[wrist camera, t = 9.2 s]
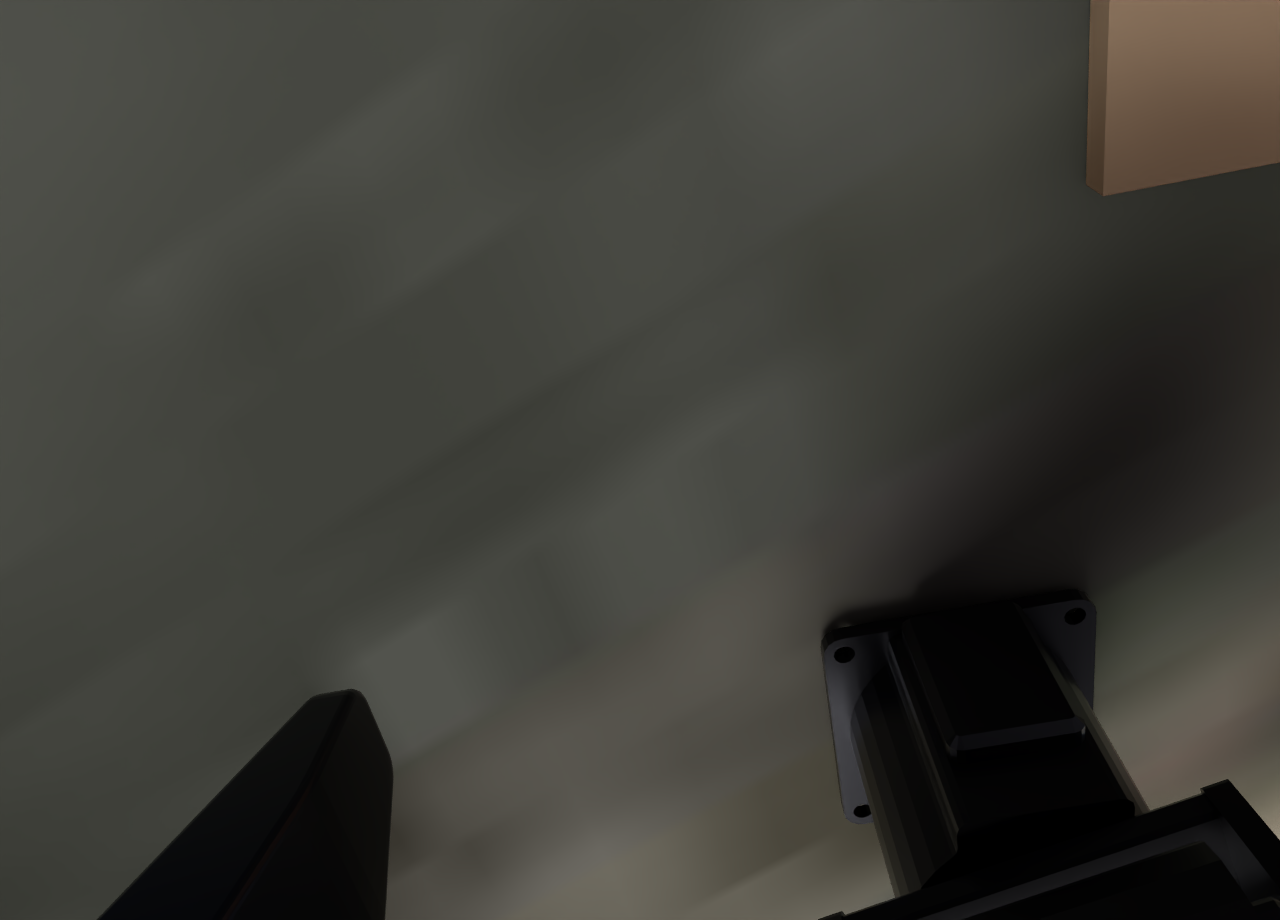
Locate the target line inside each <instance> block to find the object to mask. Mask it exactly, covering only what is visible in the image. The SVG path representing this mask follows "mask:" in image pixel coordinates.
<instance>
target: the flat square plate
mask: <svg viewBox="0 0 1280 920" xmlns="http://www.w3.org/2000/svg"><path fill="white" fill-rule="evenodd" d="M1279 162H1280V0H1090V40H1089V81H1088V122H1087V163H1086V185H1087V186H1089V187H1090V188H1092V189H1093V190H1095V191H1096V192H1098V193H1099V194H1101V195H1102V196H1107V195H1112V194H1117V193H1123V192H1128V191H1133V190H1138V189H1143V188H1149V187H1154V186H1159V185H1164V184H1169V183H1175V182H1180V181H1185V180H1190V179H1195V178H1201V177H1206V176H1211V175H1216V174H1221V173H1227V172H1232V171H1237V170H1242V169H1247V168H1253V167H1258V166H1263V165H1268V164H1273V163H1279Z"/></svg>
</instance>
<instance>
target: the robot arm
mask: <svg viewBox="0 0 1280 920" xmlns="http://www.w3.org/2000/svg"><path fill="white" fill-rule="evenodd" d="M1073 608H1078V609H1077V610H1076V611H1075V612H1073V613H1070V614H1066V613H1067V612H1068V611H1069V610H1071V609H1073ZM1095 639H1096V609H1095V606H1094V604H1093V603H1092V601H1091V600H1090V598H1089V597H1088V596H1087V595H1086V594H1085V592H1083V591H1080V590H1077V589H1069V590H1063V591H1057V592H1051V593H1045V594H1039V595H1033V596H1027V597H1022V598H1016V599H1010V600H1004V601H998V602H992V603H986V604H980V605H974V606H968V607H962V608H956V609H950V610H945V611H939V612H933V613H927V614H921V615H915V616H909V617H903V618H897V619H891V620H885V621H879V622H874V623H868V624H862V625H856V626H850V627H844V628H839V629H836V630H832V631H831V632H829V633H828V634H826V635H825V637H824V638H823V640H822V641H821V653H822V661H823V668H824V676H825V683H826V691H827V698H828V706H829V713H830V721H831V728H832V736H833V743H834V751H835V758H836V766H837V773H838V781H839V788H840V796H841V803H842V807H843V811H844V814H845V817H846V819H848V820H849V821H850V822H852V823H856V824H866V823H872V822H874V825H875V828H876V832H877V835H878V839H879V842H880V846H881V849H882V853H883V856H884V860H885V863H886V867H887V871H888V874H889V878H890V881H891V885H892V888H893V892H894V895H895V898H893V899H890V900H888V901H885V902H882V903H879V904H876V905H873V906H870V907H867V908H864V909H861V910H858V911H855V912H852V913H849V914H847V915H845V914H844V913H843V912H842V911H841V912H838V913H835V914H832V915H829V916H826V917H823V918H820V919H818V920H1280V840H1279V839H1278V838H1277V836H1276V835H1275V834H1274V833H1273V832H1272V831H1271V829H1270V828H1269V827H1268V826H1267V825H1266V823H1265V822H1264V821H1263V820H1262V819H1261V817H1260V816H1259V815H1258V814H1257V813H1256V812H1255V810H1254V809H1253V808H1252V807H1251V806H1250V804H1249V803H1248V802H1247V801H1246V800H1245V798H1244V797H1243V796H1242V795H1241V794H1240V793H1239V791H1238V790H1237V789H1236V788H1235V787H1234V785H1233V784H1232V783H1231V782H1230V781H1229V780H1228V779H1226V780H1223V781H1220V782H1218V783H1215V784H1212V785H1209V786H1206V787H1203V788H1200V790H1201V794H1198V795H1195V796H1192V797H1189V798H1186V799H1183V800H1180V801H1177V802H1174V803H1172V804H1169V805H1166V806H1163V807H1160V808H1157V809H1154V810H1151V811H1150V809H1149V808H1148V806H1147V804H1146V802H1145V801H1144V799H1143V797H1142V796H1141V794H1140V792H1139V790H1138V789H1137V787H1136V785H1135V783H1134V782H1133V780H1132V778H1131V776H1130V775H1129V773H1128V771H1127V769H1126V768H1125V766H1124V764H1123V763H1122V761H1121V759H1120V757H1119V756H1118V754H1117V752H1116V750H1115V749H1114V747H1113V745H1112V743H1111V742H1110V740H1109V738H1108V736H1107V735H1106V733H1105V731H1104V729H1103V728H1102V726H1101V724H1100V723H1099V721H1098V719H1097V717H1096V716H1095V714H1094V712H1093V693H1094V666H1095ZM841 647H850V648H849V649H848V650H846V651H844V652H836V650H837V649H839V648H841ZM392 796H393V767H392V761H391V757H390V754H389V751H388V749H387V746H386V744H385V742H384V739H383V737H382V735H381V732H380V730H379V728H378V725H377V723H376V721H375V718H374V716H373V714H372V712H371V709H370V707H369V705H368V702H367V700H366V698H365V697H364V696H363V694H362V693H361V692H360V691H357V690H355V689H347V690H341V691H335V692H330V693H324V694H319V695H316V696H313V697H312V698H310V699H309V700H308V701H307V702H306V703H305V704H304V705H303V706H302V707H301V708H300V709H299V710H298V711H297V712H296V713H295V714H294V715H293V716H292V717H291V718H290V719H289V720H288V721H287V722H286V723H285V724H284V725H283V726H282V728H281V729H280V730H279V731H278V732H277V733H276V734H275V735H274V736H273V737H272V738H271V739H270V740H269V741H268V742H267V743H266V744H265V745H264V746H263V747H262V748H261V749H260V750H259V751H258V752H257V754H256V755H255V756H254V757H253V758H252V759H251V760H250V761H249V762H248V763H247V764H246V765H245V766H244V767H243V768H242V769H241V770H240V771H239V772H238V773H237V774H236V775H235V776H234V777H233V778H232V780H231V781H230V782H229V783H228V784H227V785H226V786H225V787H224V788H223V789H222V790H221V791H220V792H219V793H218V794H217V795H216V796H215V797H214V798H213V799H212V800H211V801H210V802H209V803H208V804H207V806H206V807H205V808H204V809H203V810H202V811H201V812H200V813H199V814H198V815H197V816H196V817H195V818H194V819H193V820H192V821H191V822H190V823H189V824H188V825H187V826H186V827H185V828H184V829H183V830H182V832H181V833H180V834H179V835H178V836H177V837H176V838H175V839H174V840H173V841H172V842H171V843H170V844H169V845H168V846H167V847H166V848H165V849H164V850H163V851H162V852H161V853H160V854H159V855H158V856H157V858H156V859H155V860H154V861H153V862H152V863H151V864H150V865H149V866H148V867H147V868H146V869H145V870H144V871H143V872H142V873H141V874H140V875H139V876H138V877H137V878H136V879H135V880H134V881H133V882H132V884H131V885H130V886H129V887H128V888H127V889H126V890H125V891H124V892H123V893H122V894H121V895H120V896H119V897H118V898H117V899H116V900H115V901H114V902H113V903H112V904H111V905H110V906H109V907H108V908H107V910H106V911H105V912H104V913H103V914H102V915H101V916H100V917H99V918H98V919H97V920H385V916H386V899H387V882H388V865H389V848H390V830H391V813H392ZM862 804H865V805H862ZM859 805H862V806H859Z"/></svg>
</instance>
